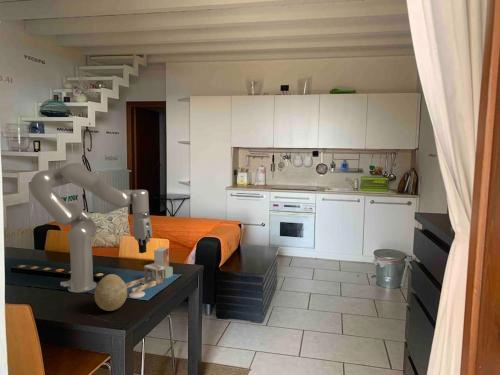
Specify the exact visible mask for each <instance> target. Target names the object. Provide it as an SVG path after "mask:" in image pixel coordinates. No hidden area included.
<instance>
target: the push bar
mask: <svg viewBox="0 0 500 375" xmlns="http://www.w3.org/2000/svg"><path fill="white" fill-rule="evenodd" d="M149 276H150V275H149ZM143 278H144V277H143ZM140 279H141V278H140ZM158 279H161V274H160V273H159V272H158ZM153 281H155V274H154V275H153V276H150V277H147V278H144V279H141V280H140V283H141V285H143V284H147V283H150V282H153Z"/></svg>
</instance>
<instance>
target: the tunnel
mask: <svg viewBox="0 0 500 375" xmlns="http://www.w3.org/2000/svg"><path fill="white" fill-rule="evenodd" d="M143 267H144V276H143V277H142V278H138V279H134V280H132V281H130V282H126V283H125V285H126V287H127V289H128V288H131V287H133V288H131V292H135V291H144V290H147V289H149V288H153V287H154V286H158V285H161V284H163V283H165V279H164V267H163V266H159V265H156V264H154V262H152V263H149V264H146V265H144V266H143ZM148 270H150V275H148ZM159 270H161V279H158V274H159ZM153 275H155V281H153V282H150V283H147V284H144V285H143V284H141V285H140V280H141V279H144V278H147V277H150V276H153ZM160 283H161V284H160ZM157 284H158V285H157ZM137 285H139V286H137ZM134 286H136V287H134Z"/></svg>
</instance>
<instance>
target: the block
mask: <svg viewBox="0 0 500 375" xmlns="http://www.w3.org/2000/svg"><path fill="white" fill-rule="evenodd" d="M163 267H164V278H165V279H164V280H166V278H167V279H170V278H172V277H173V276H174V275H173V273H174V269H173V268H174V267H172V266H170V265H168V266H163ZM159 273H160V274H161V270H159V271H158V274H159ZM171 276H172V277H171ZM169 277H170V278H169Z"/></svg>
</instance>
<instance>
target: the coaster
mask: <svg viewBox="0 0 500 375" xmlns="http://www.w3.org/2000/svg"><path fill="white" fill-rule="evenodd" d="M145 296H146V292H145V291H144V290H141V291H135V292H132V291H131V292H129V294H128V297H129V298H130V299H139V298H144V297H145Z"/></svg>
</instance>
